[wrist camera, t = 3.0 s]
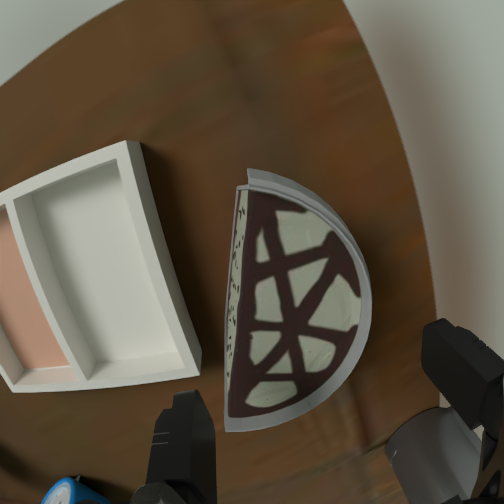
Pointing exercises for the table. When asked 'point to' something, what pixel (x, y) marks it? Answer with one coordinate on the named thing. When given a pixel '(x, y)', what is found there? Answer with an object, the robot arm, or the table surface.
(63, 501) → the alarm clock
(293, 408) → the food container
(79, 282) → the tray
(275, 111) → the table surface
